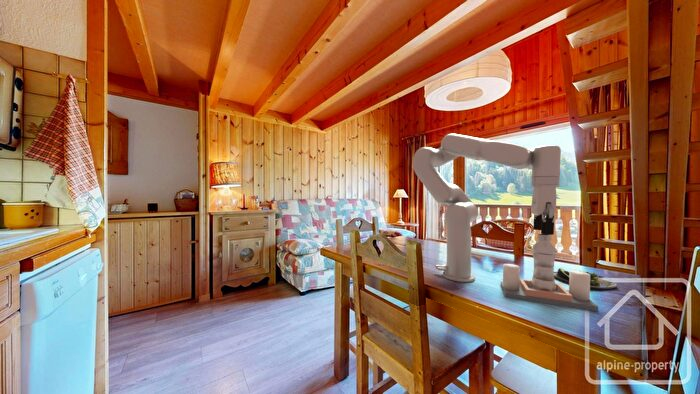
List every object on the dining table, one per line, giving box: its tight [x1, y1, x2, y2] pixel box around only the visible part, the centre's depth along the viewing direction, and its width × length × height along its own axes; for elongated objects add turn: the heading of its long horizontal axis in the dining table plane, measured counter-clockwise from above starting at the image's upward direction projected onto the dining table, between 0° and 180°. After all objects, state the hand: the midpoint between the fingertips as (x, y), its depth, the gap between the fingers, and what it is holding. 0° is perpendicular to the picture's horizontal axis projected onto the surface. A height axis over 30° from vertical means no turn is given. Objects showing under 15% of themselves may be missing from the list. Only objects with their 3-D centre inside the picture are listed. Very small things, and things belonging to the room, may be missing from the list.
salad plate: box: [554, 267, 618, 291], centre depth 100 cm, size 19×18×5 cm
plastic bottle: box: [531, 233, 557, 292], centre depth 85 cm, size 6×7×20 cm
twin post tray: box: [500, 263, 599, 312], centre depth 85 cm, size 24×12×10 cm, turn 65°
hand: (542, 232), depth 85 cm, fingers open, 9 cm apart
